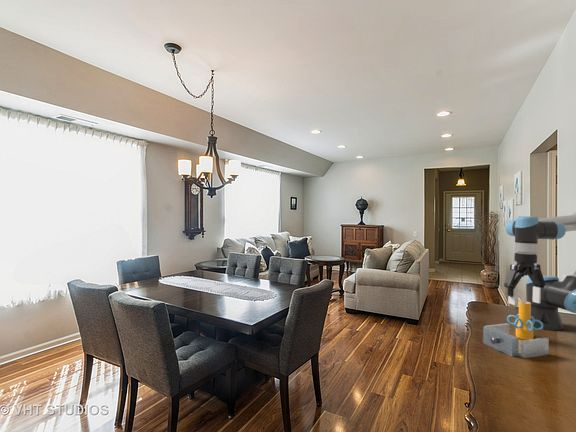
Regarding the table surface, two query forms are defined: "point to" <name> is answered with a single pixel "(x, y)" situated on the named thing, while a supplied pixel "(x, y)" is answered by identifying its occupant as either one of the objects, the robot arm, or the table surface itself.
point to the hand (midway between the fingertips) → (524, 303)
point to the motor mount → (513, 342)
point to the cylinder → (524, 321)
